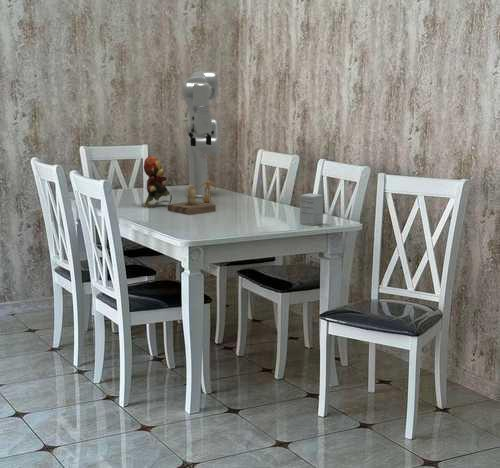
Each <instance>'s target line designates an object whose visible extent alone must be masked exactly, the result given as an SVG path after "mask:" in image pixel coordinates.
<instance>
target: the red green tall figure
mask: <svg viewBox="0 0 500 468" xmlns="http://www.w3.org/2000/svg"><path fill="white" fill-rule="evenodd" d="M143 171H144V173H145V175H146V176H148V177H149V178H148V179H147V181H146V190H147V198H146V201H145V202H144V205H143V207H144V208H145V207H147V208H150V207H151V208H153V207H155V206H156V205H158V204H160V203H168V204H171V202H172V194H171V193H170V191H169V190H168V188H167V186H166V185H164V184H163V182H166V180H167V178H168V177H167V176H164V173H165V170H164V168H162V163H161V161H160V160H159V159H158V158H157V157H155V156H151V155H149V156H148V157H146V158H145V159H144V162H143ZM168 196H170V198H169V199H170V200H161V201H159V199H160V198H161V197H168ZM154 200H155V201H156V202H155V203H154V204H153V205H152V206H151V205H150V202H152V201H154Z"/></svg>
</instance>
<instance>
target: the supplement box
mask: <svg viewBox="0 0 500 468" xmlns="http://www.w3.org/2000/svg"><path fill="white" fill-rule="evenodd" d="M299 196H300V197H299V224H300V225H305V226H311V225H313V226H318V225H321V224H323V222H324V221H323V220H324V218H323V217H324V213H323V212H324V208H323V207H324V195H323V194H318V193H311V192H309V193H304V194H301V195H300V194H299Z"/></svg>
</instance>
